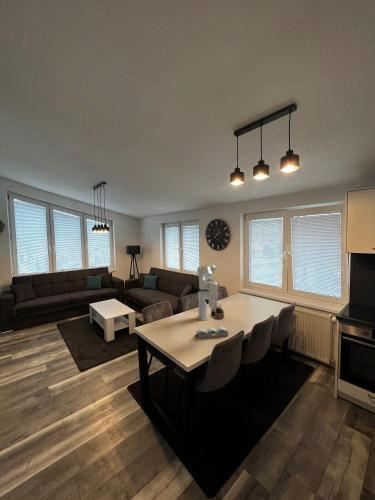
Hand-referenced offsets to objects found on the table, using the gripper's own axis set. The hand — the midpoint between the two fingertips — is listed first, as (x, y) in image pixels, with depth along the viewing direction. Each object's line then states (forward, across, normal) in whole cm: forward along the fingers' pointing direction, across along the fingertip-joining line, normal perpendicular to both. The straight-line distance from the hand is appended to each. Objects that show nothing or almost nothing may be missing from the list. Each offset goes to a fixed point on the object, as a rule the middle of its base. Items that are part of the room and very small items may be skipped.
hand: (212, 315), depth 190 cm
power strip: (+19, -1, -1) cm, 19 cm away
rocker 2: (+13, 0, 0) cm, 13 cm away
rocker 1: (+13, 0, -10) cm, 16 cm away
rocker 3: (+13, 0, +10) cm, 16 cm away
